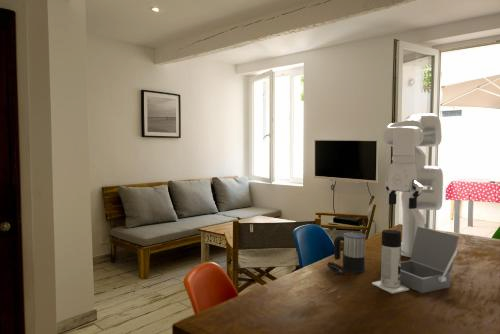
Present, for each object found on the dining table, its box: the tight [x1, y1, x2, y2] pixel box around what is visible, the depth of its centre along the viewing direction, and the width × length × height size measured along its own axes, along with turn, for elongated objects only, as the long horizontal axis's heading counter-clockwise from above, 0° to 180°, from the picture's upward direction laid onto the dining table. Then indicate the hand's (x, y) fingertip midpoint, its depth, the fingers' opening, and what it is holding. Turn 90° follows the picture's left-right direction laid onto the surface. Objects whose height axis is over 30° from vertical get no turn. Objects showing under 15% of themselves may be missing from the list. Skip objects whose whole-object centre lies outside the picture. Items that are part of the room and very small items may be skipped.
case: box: [400, 227, 460, 294], centre depth 143 cm, size 19×18×19 cm
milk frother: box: [327, 231, 367, 275], centre depth 155 cm, size 14×16×15 cm
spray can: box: [380, 229, 402, 288], centre depth 137 cm, size 7×7×20 cm
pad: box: [371, 280, 410, 294], centre depth 138 cm, size 10×8×1 cm
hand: (402, 206), depth 140 cm, fingers open, 9 cm apart
